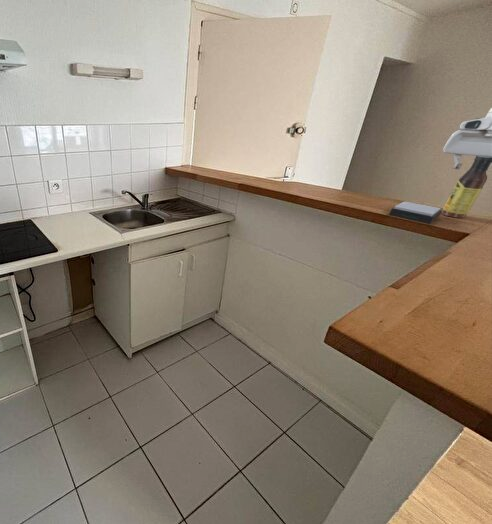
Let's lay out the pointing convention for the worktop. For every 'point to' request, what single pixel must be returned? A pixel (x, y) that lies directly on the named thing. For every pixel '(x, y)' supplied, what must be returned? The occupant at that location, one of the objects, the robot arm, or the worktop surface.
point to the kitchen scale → (416, 212)
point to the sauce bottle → (467, 188)
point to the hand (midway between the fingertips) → (476, 171)
